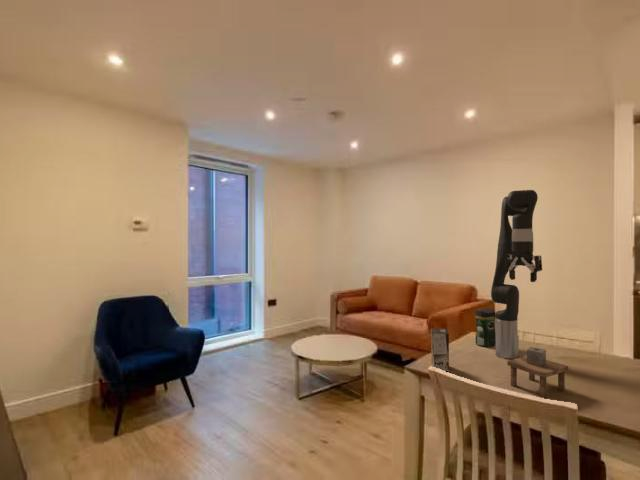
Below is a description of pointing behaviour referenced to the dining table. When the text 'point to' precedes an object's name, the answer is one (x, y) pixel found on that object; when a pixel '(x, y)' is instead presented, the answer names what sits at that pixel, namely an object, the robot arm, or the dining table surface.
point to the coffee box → (440, 348)
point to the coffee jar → (485, 327)
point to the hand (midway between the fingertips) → (522, 280)
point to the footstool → (538, 372)
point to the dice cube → (536, 356)
